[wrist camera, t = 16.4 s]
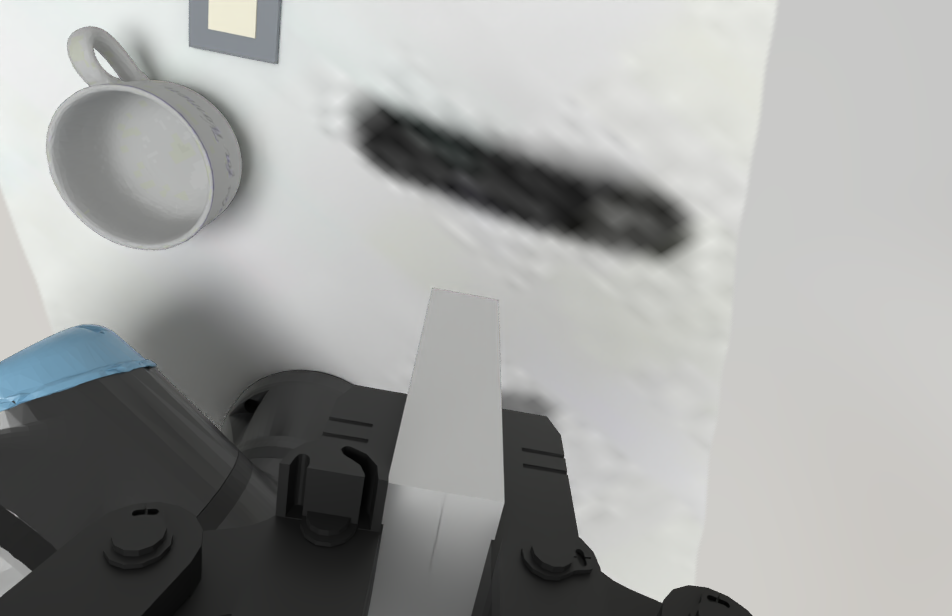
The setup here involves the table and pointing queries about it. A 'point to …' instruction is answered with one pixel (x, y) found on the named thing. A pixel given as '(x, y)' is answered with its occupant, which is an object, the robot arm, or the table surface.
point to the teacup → (139, 151)
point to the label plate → (236, 27)
